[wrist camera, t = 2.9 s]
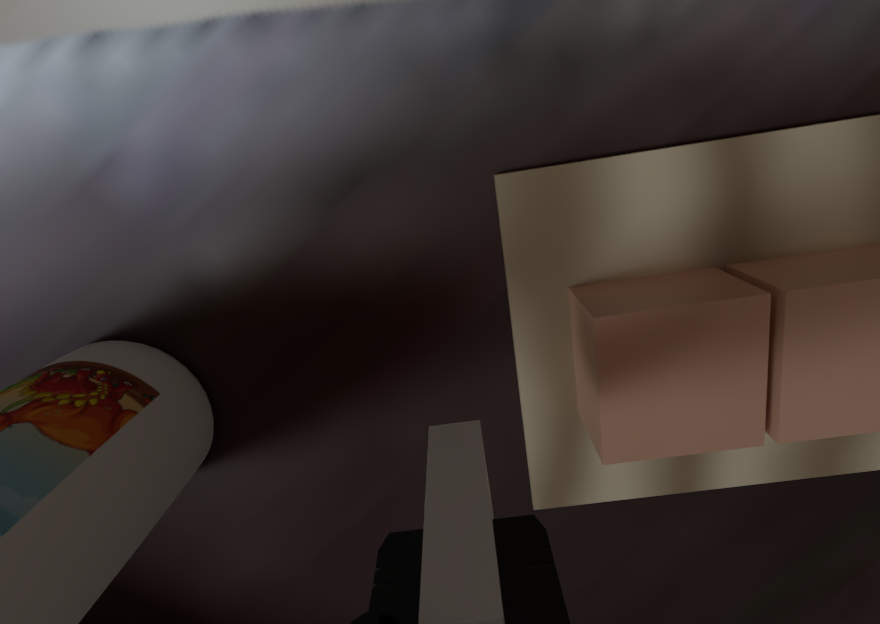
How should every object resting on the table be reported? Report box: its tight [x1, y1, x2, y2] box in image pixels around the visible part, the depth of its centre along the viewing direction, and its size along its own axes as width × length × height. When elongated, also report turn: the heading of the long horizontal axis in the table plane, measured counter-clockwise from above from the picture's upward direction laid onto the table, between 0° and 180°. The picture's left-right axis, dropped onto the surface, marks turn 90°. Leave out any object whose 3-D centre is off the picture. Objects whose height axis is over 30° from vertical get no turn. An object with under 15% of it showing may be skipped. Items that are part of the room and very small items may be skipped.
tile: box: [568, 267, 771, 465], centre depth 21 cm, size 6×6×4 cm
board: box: [494, 114, 880, 510], centre depth 23 cm, size 17×16×1 cm
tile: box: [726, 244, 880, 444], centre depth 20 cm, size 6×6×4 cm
